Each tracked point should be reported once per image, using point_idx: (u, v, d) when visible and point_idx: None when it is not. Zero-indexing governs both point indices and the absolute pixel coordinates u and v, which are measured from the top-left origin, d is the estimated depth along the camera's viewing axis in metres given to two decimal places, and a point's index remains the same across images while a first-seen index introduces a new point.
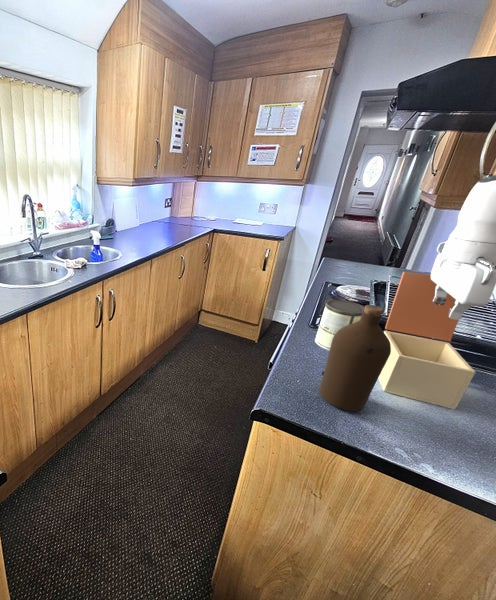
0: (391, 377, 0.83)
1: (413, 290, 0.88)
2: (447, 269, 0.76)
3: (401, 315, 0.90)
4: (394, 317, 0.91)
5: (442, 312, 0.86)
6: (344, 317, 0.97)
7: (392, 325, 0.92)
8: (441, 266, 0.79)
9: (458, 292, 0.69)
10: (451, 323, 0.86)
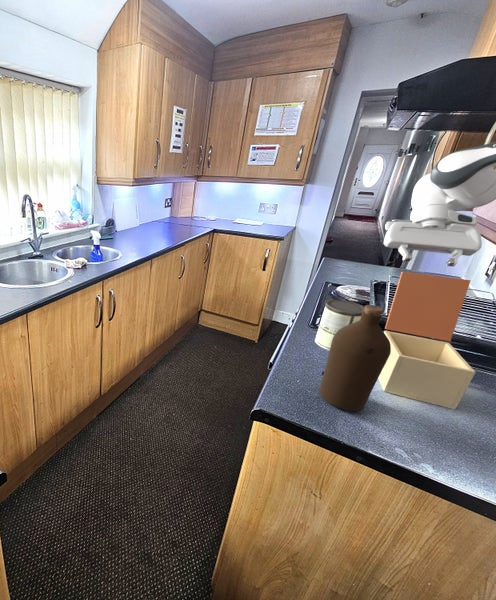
0: (391, 377, 0.83)
1: (411, 289, 0.89)
2: None
3: (401, 315, 0.91)
4: (394, 317, 0.91)
5: (441, 312, 0.87)
6: (344, 317, 0.97)
7: (392, 325, 0.92)
8: None
9: None
10: (450, 323, 0.86)
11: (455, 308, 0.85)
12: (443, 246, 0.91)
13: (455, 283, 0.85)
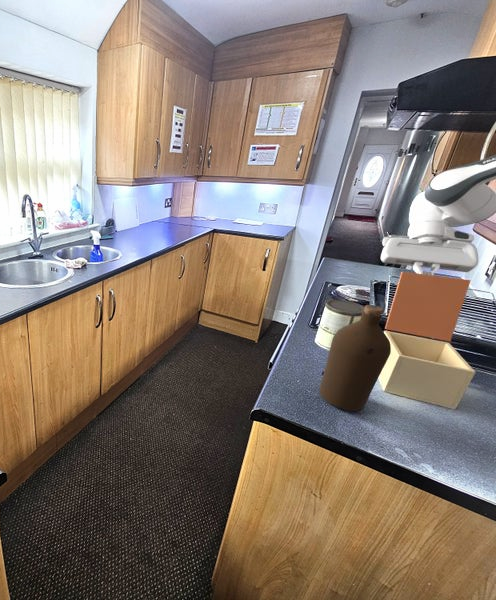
0: (391, 377, 0.83)
1: (411, 289, 0.89)
2: None
3: (401, 315, 0.91)
4: (394, 317, 0.91)
5: (441, 312, 0.87)
6: (344, 317, 0.97)
7: (392, 325, 0.92)
8: None
9: None
10: (450, 323, 0.86)
11: (455, 308, 0.85)
12: (439, 262, 0.91)
13: (455, 283, 0.85)
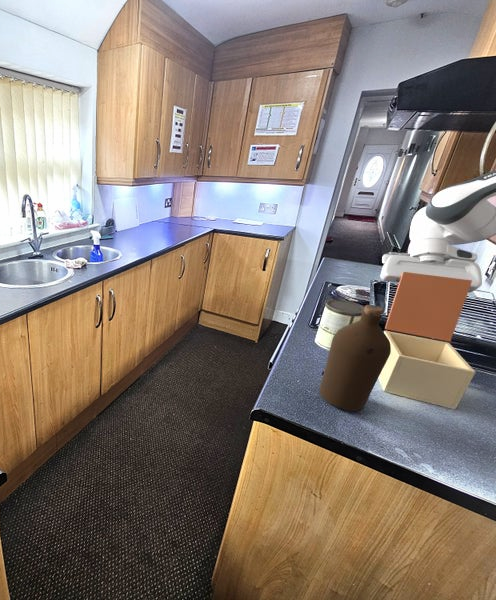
0: (391, 377, 0.83)
1: (412, 289, 0.89)
2: None
3: (401, 315, 0.90)
4: (394, 317, 0.91)
5: (442, 312, 0.86)
6: (344, 317, 0.97)
7: (392, 325, 0.92)
8: None
9: None
10: (451, 323, 0.86)
11: (456, 308, 0.85)
12: None
13: (456, 283, 0.85)
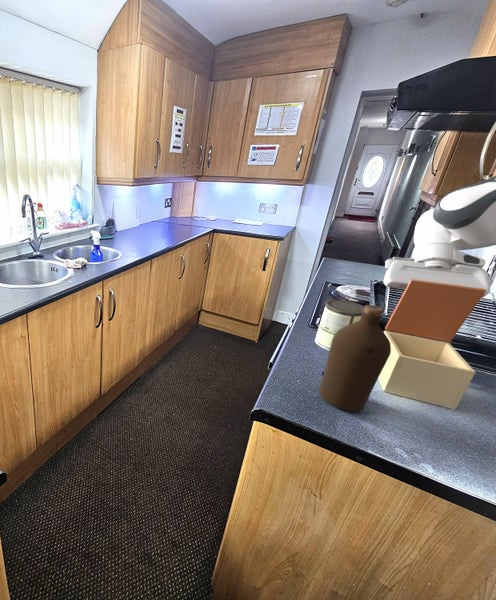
0: (391, 377, 0.83)
1: (418, 297, 0.84)
2: None
3: (403, 319, 0.89)
4: (395, 320, 0.90)
5: (446, 317, 0.84)
6: (344, 317, 0.97)
7: (392, 327, 0.91)
8: None
9: None
10: (454, 327, 0.84)
11: (462, 315, 0.82)
12: None
13: (468, 293, 0.79)
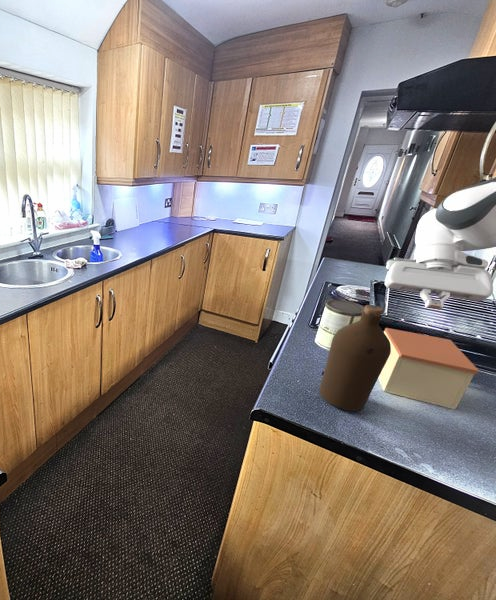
0: (391, 377, 0.83)
1: None
2: None
3: None
4: None
5: None
6: (344, 317, 0.97)
7: None
8: None
9: None
10: None
11: None
12: (450, 290, 0.83)
13: None
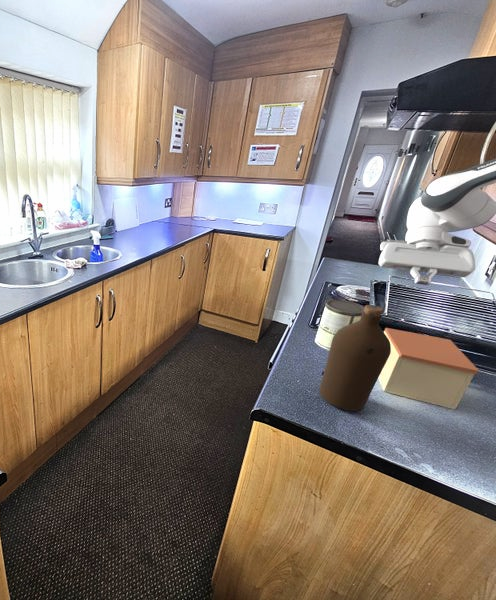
0: (391, 377, 0.83)
1: None
2: None
3: None
4: None
5: None
6: (344, 317, 0.97)
7: None
8: None
9: None
10: None
11: None
12: (437, 267, 0.92)
13: None
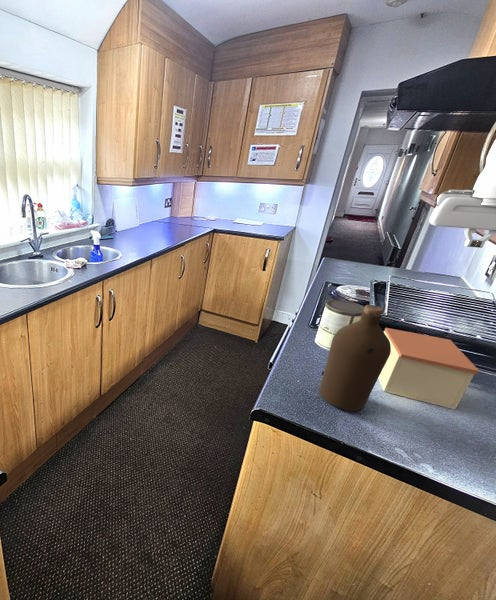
0: (391, 377, 0.83)
1: None
2: None
3: None
4: None
5: None
6: (344, 317, 0.97)
7: None
8: None
9: None
10: None
11: None
12: None
13: None
